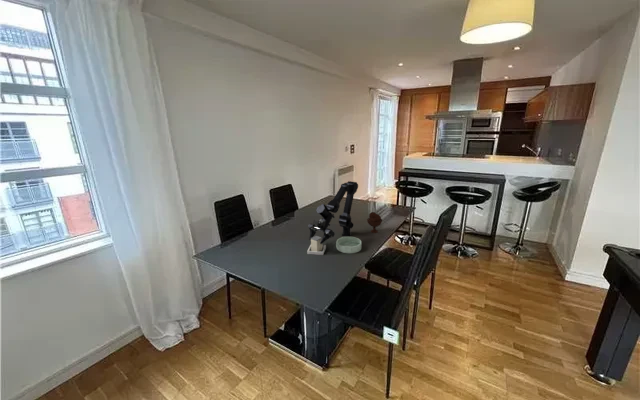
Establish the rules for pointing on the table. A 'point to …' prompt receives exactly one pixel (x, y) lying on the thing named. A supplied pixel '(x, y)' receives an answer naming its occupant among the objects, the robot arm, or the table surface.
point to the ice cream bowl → (374, 221)
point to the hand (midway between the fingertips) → (315, 241)
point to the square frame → (316, 251)
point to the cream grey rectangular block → (316, 244)
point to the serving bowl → (348, 244)
